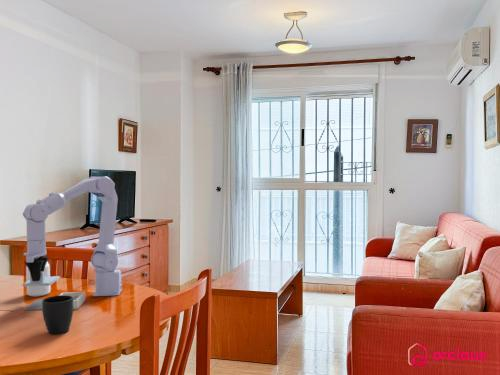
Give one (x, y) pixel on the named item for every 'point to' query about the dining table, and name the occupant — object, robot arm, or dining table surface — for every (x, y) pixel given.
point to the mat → (35, 305)
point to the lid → (42, 280)
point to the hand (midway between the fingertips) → (37, 279)
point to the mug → (57, 313)
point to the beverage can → (38, 290)
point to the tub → (76, 298)
